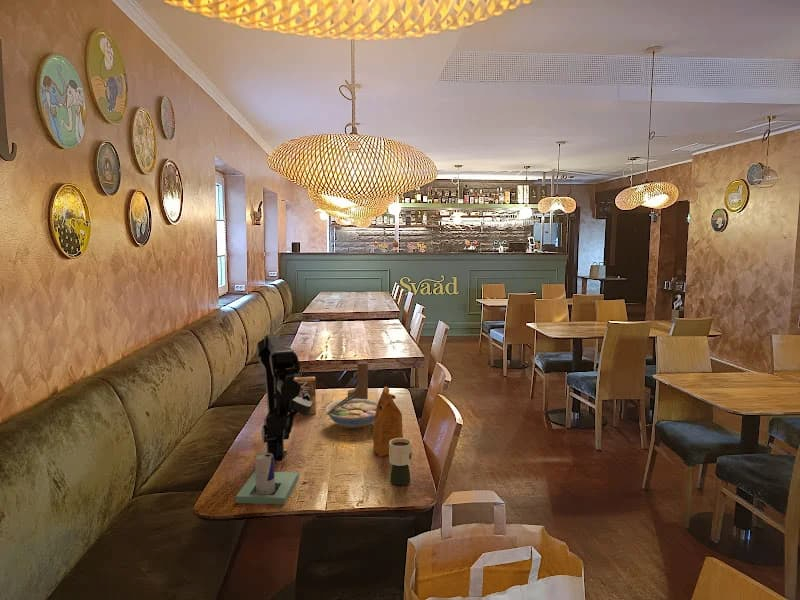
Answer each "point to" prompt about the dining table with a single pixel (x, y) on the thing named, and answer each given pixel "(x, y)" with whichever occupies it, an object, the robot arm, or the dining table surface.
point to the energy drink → (265, 474)
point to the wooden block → (361, 382)
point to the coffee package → (386, 423)
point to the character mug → (400, 460)
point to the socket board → (284, 486)
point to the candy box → (307, 391)
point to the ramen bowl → (352, 412)
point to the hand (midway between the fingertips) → (284, 438)
